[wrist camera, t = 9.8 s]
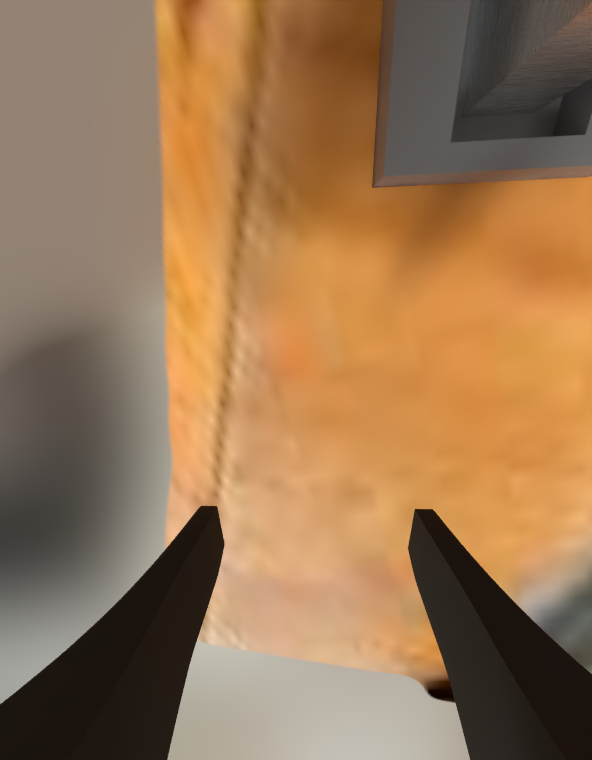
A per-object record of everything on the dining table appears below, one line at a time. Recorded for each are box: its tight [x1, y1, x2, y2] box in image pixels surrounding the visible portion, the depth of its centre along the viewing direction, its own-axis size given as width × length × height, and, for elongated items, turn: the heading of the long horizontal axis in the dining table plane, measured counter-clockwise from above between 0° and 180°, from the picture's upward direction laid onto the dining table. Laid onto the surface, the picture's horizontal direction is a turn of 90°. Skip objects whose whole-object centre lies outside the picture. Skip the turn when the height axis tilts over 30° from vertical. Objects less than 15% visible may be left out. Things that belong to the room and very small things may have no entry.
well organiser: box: [372, 0, 592, 188], centre depth 11 cm, size 10×10×2 cm
